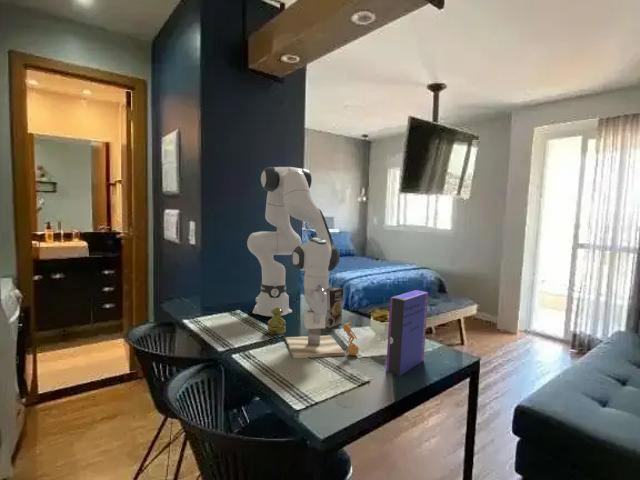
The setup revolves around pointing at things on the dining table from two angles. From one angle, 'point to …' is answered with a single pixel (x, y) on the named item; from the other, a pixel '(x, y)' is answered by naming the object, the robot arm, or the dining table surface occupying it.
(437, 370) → the dining table surface
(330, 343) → the block
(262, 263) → the robot arm
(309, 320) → the keyed cap
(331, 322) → the coffee box
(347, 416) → the dining table surface
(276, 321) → the gold vase
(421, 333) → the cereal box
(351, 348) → the figurine
